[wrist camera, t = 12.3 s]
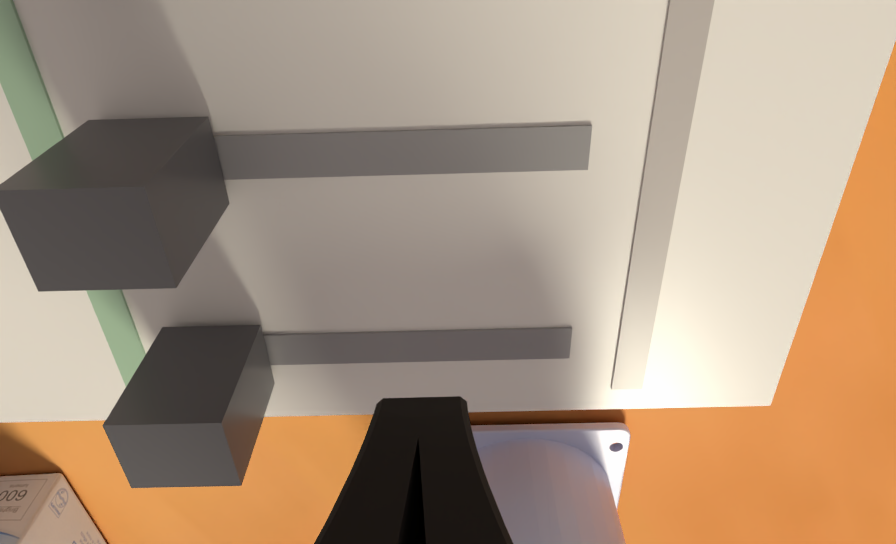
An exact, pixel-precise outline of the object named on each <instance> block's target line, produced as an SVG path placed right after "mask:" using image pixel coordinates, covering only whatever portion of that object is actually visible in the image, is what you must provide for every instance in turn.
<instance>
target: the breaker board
mask: <svg viewBox="0 0 896 544" xmlns="http://www.w3.org/2000/svg"><path fill="white" fill-rule="evenodd" d="M895 41H896V0H0V184H1V183H3V182H4V181H6V180H7V179H8V178H10V177H11V176H12V175H14V174H15V173H17V172H18V171H19V170H21V169H22V168H23V167H25V166H26V165H27V164H29V163H30V162H32V161H33V160H34V159H36V158H37V157H38V156H40V155H41V154H42V153H44V152H45V151H47V150H48V149H49V148H51V147H52V146H53V145H55V144H56V143H58V142H59V141H60V140H62V139H63V138H64V137H66V136H67V135H68V134H70V133H71V132H73V131H74V130H75V129H77V128H78V127H79V126H81V125H82V124H84V123H85V122H86V121H88V120H104V119H139V118H173V117H208V116H209V120H210V124H211V128H212V132H213V137H214V141H215V145H216V149H217V153H218V157H219V161H220V166H221V170H222V174H223V178H224V182H225V186H226V190H227V194H228V199H229V203H230V204H229V205H228V207H227V209H226V210H225V212H224V213H223V215H222V216H221V218H220V220H219V221H218V223H217V224H216V226H215V228H214V229H213V231H212V232H211V234H210V236H209V237H208V239H207V240H206V242H205V244H204V245H203V247H202V248H201V250H200V251H199V253H198V255H197V256H196V258H195V259H194V261H193V263H192V264H191V266H190V267H189V269H188V271H187V272H186V274H185V275H184V277H183V278H182V280H181V282H180V283H179V285H178V286H177V288H163V289H123V290H83V291H43V292H38V290H37V288H36V285H35V283H34V281H33V279H32V277H31V275H30V273H29V270H28V268H27V266H26V264H25V262H24V260H23V257H22V255H21V253H20V251H19V249H18V247H17V245H16V242H15V240H14V238H13V236H12V234H11V232H10V229H9V227H8V225H7V223H6V221H5V219H4V217H3V214H2V212H1V210H0V422H46V421H91V420H106V419H107V418H108V416H109V414H110V413H111V411H112V409H113V408H114V406H115V404H116V403H117V401H118V399H119V398H120V396H121V395H122V393H123V391H124V390H125V388H126V386H127V385H128V383H129V381H130V380H131V378H132V376H133V375H134V373H135V371H136V370H137V368H138V366H139V365H140V363H141V362H142V360H143V358H144V357H145V355H146V353H147V352H148V350H149V348H150V347H151V345H152V343H153V342H154V340H155V338H156V337H157V335H158V334H159V332H160V330H161V329H162V327H184V326H226V325H261V328H262V332H263V336H264V340H265V345H266V349H267V353H268V357H269V361H270V365H271V370H272V374H273V378H274V382H275V384H274V387H273V390H272V393H271V397H270V400H269V403H268V406H267V409H266V412H265V415H264V417H274V416H320V415H365V414H374V411H375V407H376V404H377V403H378V402H379V401H380V400H382V399H383V398H413V397H453V396H460V397H462V398H463V399H464V400H466V401H467V406H468V412H503V411H548V410H594V409H640V408H685V407H731V406H770V405H771V402H772V399H773V396H774V394H775V391H776V388H777V385H778V382H779V379H780V376H781V373H782V370H783V367H784V364H785V361H786V359H787V356H788V353H789V350H790V347H791V344H792V341H793V338H794V335H795V332H796V329H797V326H798V324H799V321H800V318H801V315H802V312H803V309H804V306H805V303H806V300H807V297H808V294H809V291H810V289H811V286H812V283H813V280H814V277H815V274H816V271H817V268H818V265H819V262H820V259H821V257H822V254H823V251H824V248H825V245H826V242H827V239H828V236H829V233H830V230H831V227H832V224H833V222H834V219H835V216H836V213H837V210H838V207H839V204H840V201H841V198H842V195H843V192H844V189H845V187H846V184H847V181H848V178H849V175H850V172H851V169H852V166H853V163H854V160H855V157H856V154H857V152H858V149H859V146H860V143H861V140H862V137H863V134H864V131H865V128H866V125H867V122H868V119H869V117H870V114H871V111H872V108H873V105H874V102H875V99H876V96H877V93H878V90H879V87H880V84H881V82H882V79H883V76H884V73H885V70H886V67H887V64H888V61H889V58H890V55H891V52H892V49H893V47H894V44H895Z"/></svg>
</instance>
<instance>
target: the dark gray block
mask: <svg viewBox="0 0 896 544" xmlns="http://www.w3.org/2000/svg"><path fill="white" fill-rule="evenodd" d="M229 204H230V203H229V199H228V194H227V190H226V186H225V182H224V178H223V174H222V170H221V166H220V161H219V157H218V153H217V149H216V145H215V141H214V137H213V132H212V128H211V124H210V120H209V116H208V117H173V118H139V119H104V120H88V121H86V122H85V123H84V124H82V125H81V126H79V127H78V128H77V129H75V130H74V131H73V132H71V133H70V134H68V135H67V136H66V137H64V138H63V139H62V140H60V141H59V142H58V143H56V144H55V145H53V146H52V147H51V148H49V149H48V150H47V151H45V152H44V153H42V154H41V155H40V156H38V157H37V158H36V159H34V160H33V161H32V162H30V163H29V164H27V165H26V166H25V167H23V168H22V169H21V170H19V171H18V172H17V173H15V174H14V175H12V176H11V177H10V178H8V179H7V180H6V181H4V182H3V183H1V184H0V210H1V212H2V214H3V217H4V219H5V221H6V223H7V225H8V227H9V229H10V232H11V234H12V236H13V238H14V240H15V242H16V245H17V247H18V249H19V251H20V253H21V255H22V257H23V260H24V262H25V264H26V266H27V268H28V270H29V273H30V275H31V277H32V279H33V281H34V283H35V285H36V288H37V290H38V292H43V291H83V290H123V289H163V288H177V286H178V285H179V283H180V282H181V280H182V278H183V277H184V275H185V274H186V272H187V271H188V269H189V267H190V266H191V264H192V263H193V261H194V259H195V258H196V256H197V255H198V253H199V251H200V250H201V248H202V247H203V245H204V244H205V242H206V240H207V239H208V237H209V236H210V234H211V232H212V231H213V229H214V228H215V226H216V224H217V223H218V221H219V220H220V218H221V216H222V215H223V213H224V212H225V210H226V209H227V207H228V205H229Z"/></svg>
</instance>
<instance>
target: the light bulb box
mask: <svg viewBox="0 0 896 544" xmlns="http://www.w3.org/2000/svg"><path fill="white" fill-rule="evenodd" d="M0 544H107V543H106V542H105V540H104V539H103V537H102V535H101V534H100V532H99V531H98V529H97V528H96V526H95V524H94V523H93V521H92V520H91V518H90V517H89V515H88V513H87V512H86V510H85V509H84V507H83V506H82V504H81V503H80V501H79V500H78V498H77V496H76V495H75V493H74V492H73V490H72V488H71V487H70V485H69V484H68V482H67V480H66V479H65V477H64V476H63V474H61V473H51V474H34V475H15V476H0Z"/></svg>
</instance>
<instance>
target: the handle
mask: <svg viewBox="0 0 896 544" xmlns="http://www.w3.org/2000/svg"><path fill="white" fill-rule="evenodd" d="M274 384H275V382H274V378H273V374H272V370H271V365H270V361H269V357H268V353H267V349H266V345H265V340H264V336H263V332H262V328H261V325H226V326H184V327H162V329H161V330H160V332H159V334H158V335H157V337H156V338H155V340H154V342H153V343H152V345H151V347H150V348H149V350H148V352H147V353H146V355H145V357H144V358H143V360H142V362H141V363H140V365H139V366H138V368H137V370H136V371H135V373H134V375H133V376H132V378H131V380H130V381H129V383H128V385H127V386H126V388H125V390H124V391H123V393H122V395H121V396H120V398H119V399H118V401H117V403H116V404H115V406H114V408H113V409H112V411H111V413H110V414H109V416H108V418H107V419H106V421H105V423H104V424H103V427H104V430H105V432H106V434H107V436H108V438H109V440H110V443H111V445H112V447H113V449H114V451H115V453H116V455H117V458H118V460H119V462H120V464H121V466H122V468H123V471H124V473H125V475H126V477H127V479H128V481H129V484H130V486H131V488H151V487H200V486H241V485H242V482H243V479H244V476H245V473H246V470H247V467H248V464H249V461H250V458H251V455H252V451H253V448H254V445H255V442H256V439H257V436H258V433H259V430H260V427H261V424H262V421H263V418H264V415H265V412H266V409H267V406H268V403H269V400H270V397H271V393H272V390H273V387H274Z"/></svg>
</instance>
